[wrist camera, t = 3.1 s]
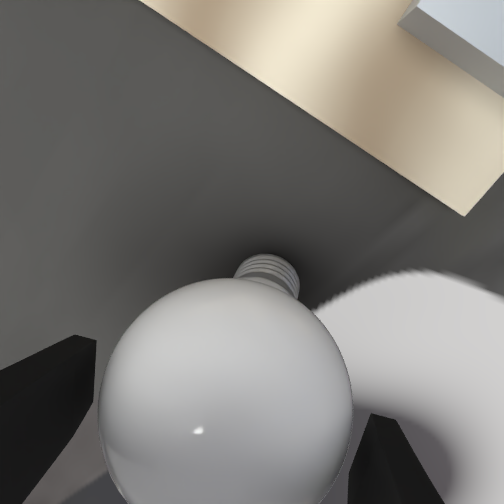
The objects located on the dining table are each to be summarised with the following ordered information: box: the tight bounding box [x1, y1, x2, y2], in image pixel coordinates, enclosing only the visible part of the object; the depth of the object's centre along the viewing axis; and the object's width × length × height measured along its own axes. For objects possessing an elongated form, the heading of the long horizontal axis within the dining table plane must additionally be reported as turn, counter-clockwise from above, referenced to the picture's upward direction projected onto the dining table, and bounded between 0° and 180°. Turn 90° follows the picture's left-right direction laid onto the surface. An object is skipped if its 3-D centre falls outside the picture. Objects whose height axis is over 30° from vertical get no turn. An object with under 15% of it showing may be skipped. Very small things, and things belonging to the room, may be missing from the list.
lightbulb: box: [98, 254, 353, 504], centre depth 14 cm, size 6×6×11 cm
